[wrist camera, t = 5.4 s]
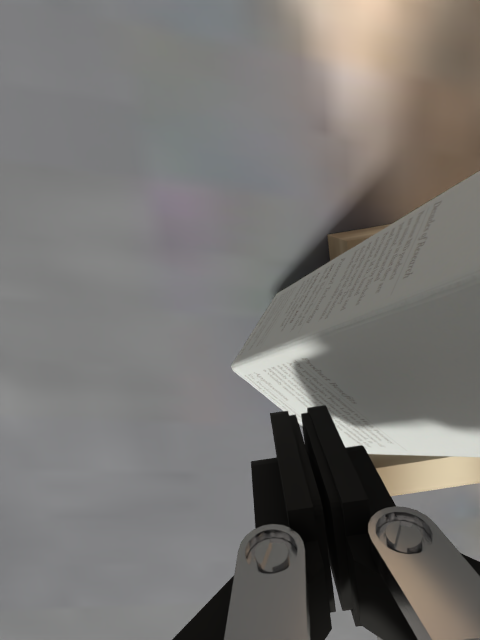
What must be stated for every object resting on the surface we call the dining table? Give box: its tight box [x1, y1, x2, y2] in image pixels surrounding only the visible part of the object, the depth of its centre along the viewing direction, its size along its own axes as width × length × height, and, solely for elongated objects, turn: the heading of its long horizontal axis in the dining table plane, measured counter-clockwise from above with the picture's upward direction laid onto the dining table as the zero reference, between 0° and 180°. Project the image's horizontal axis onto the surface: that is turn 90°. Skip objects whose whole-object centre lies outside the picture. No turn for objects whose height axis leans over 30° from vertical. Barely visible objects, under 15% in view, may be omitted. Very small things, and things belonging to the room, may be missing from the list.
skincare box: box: [232, 170, 480, 457], centre depth 12 cm, size 6×4×12 cm
